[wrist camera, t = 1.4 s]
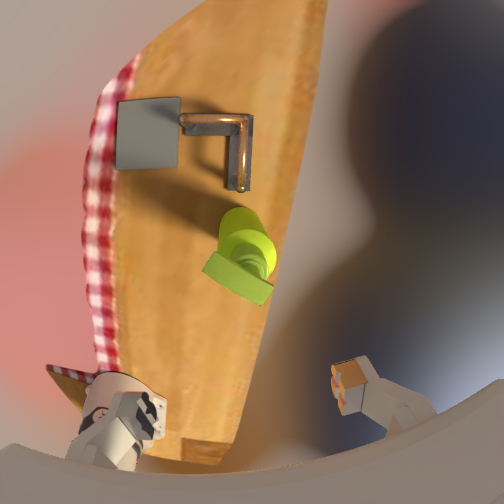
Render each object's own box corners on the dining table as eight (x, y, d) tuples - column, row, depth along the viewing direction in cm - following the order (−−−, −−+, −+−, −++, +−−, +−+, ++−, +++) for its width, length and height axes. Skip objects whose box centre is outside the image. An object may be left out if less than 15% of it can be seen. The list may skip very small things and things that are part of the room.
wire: (249, 190, 39) (253, 196, 32) (183, 189, 38) (174, 195, 32) (253, 116, 35) (258, 107, 29) (185, 114, 34) (177, 106, 28)
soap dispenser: (228, 194, 39) (229, 229, 20) (269, 221, 40) (306, 278, 21) (205, 229, 40) (187, 294, 21) (246, 254, 41) (262, 333, 23)
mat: (177, 168, 37) (176, 168, 36) (117, 170, 36) (116, 170, 35) (180, 98, 34) (180, 97, 33) (120, 102, 33) (119, 102, 32)
